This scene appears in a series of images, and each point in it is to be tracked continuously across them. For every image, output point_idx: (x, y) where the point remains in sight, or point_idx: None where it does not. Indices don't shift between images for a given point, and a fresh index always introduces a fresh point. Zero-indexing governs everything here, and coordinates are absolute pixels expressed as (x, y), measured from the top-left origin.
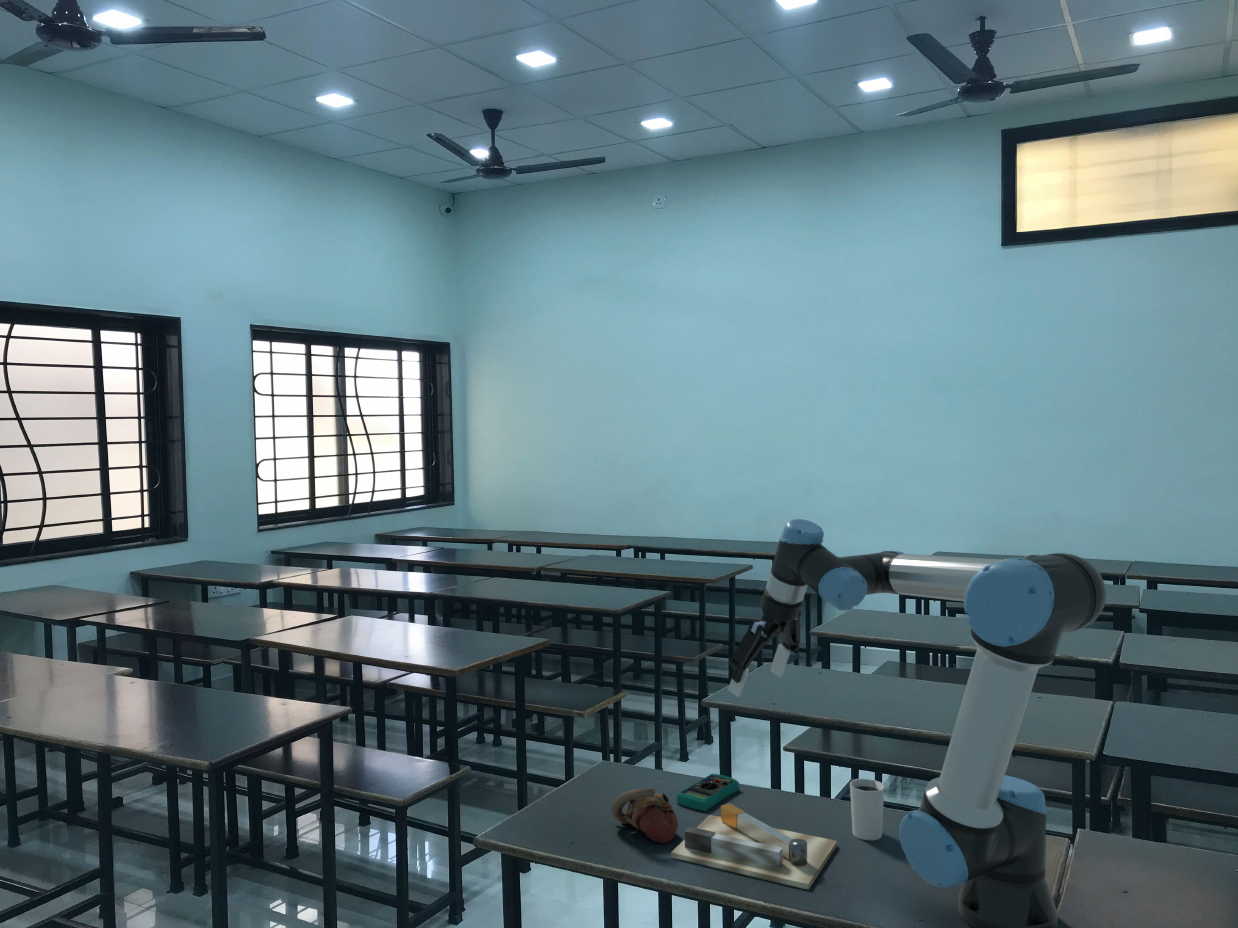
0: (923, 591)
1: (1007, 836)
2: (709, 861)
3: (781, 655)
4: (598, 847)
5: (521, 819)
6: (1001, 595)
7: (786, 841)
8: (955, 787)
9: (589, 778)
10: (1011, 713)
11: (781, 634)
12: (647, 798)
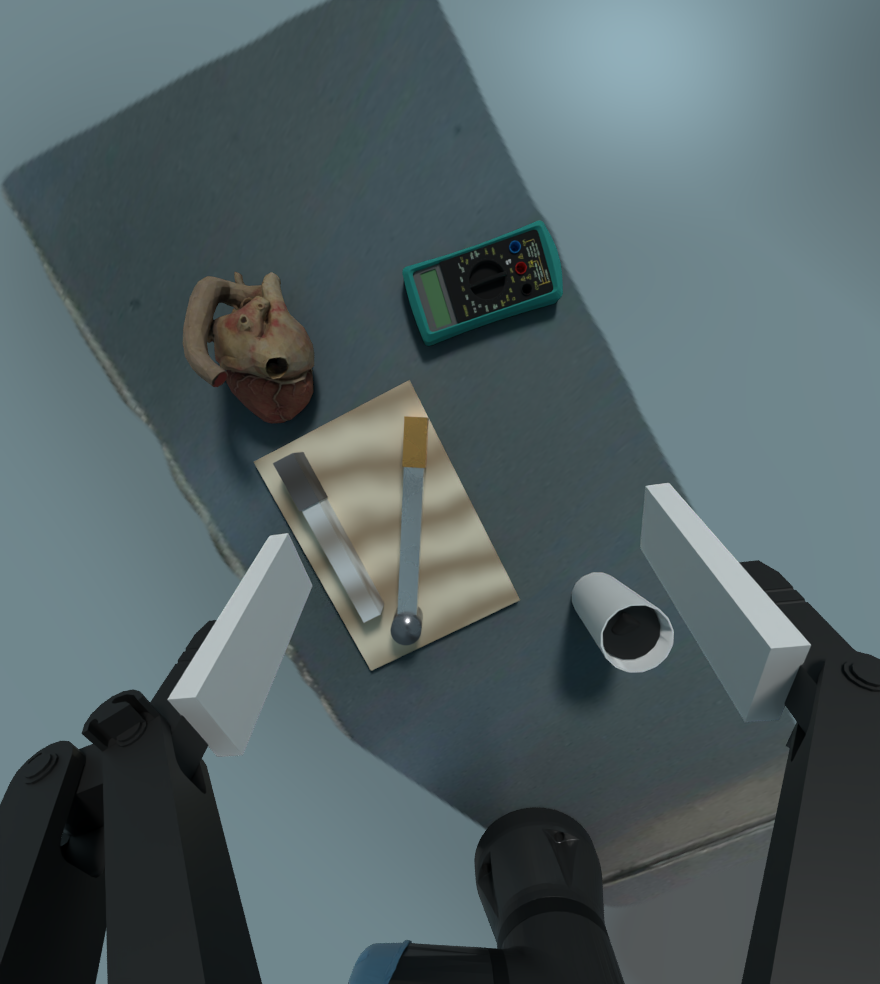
0: None
1: None
2: (290, 526)
3: (714, 626)
4: (167, 351)
5: (90, 140)
6: None
7: (401, 604)
8: None
9: (321, 20)
10: None
11: (755, 968)
12: (231, 354)
